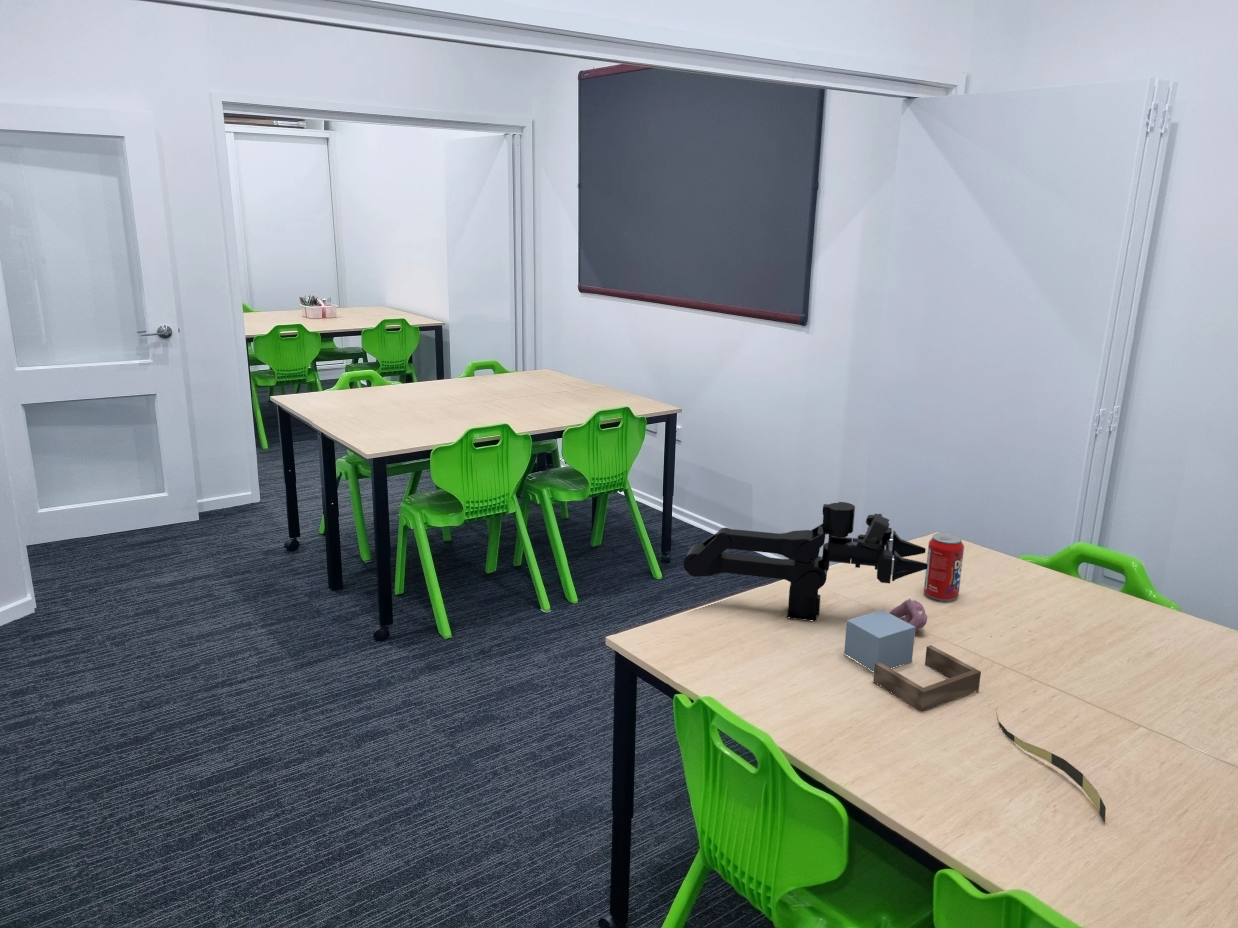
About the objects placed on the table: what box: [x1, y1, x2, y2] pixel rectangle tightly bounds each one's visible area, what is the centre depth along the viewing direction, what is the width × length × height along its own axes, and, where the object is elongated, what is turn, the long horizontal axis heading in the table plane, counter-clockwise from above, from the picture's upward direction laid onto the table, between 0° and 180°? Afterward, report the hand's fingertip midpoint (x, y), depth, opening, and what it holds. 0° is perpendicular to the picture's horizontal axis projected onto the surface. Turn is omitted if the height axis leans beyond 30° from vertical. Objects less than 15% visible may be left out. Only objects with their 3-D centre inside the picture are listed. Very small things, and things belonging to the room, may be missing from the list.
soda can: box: [923, 532, 965, 602], centre depth 209 cm, size 8×8×15 cm
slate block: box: [843, 609, 916, 672], centre depth 181 cm, size 9×10×8 cm
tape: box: [995, 707, 1107, 824], centre depth 151 cm, size 6×38×4 cm, turn 0°
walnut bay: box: [872, 645, 982, 712], centre depth 171 cm, size 12×15×4 cm
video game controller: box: [889, 598, 928, 633], centre depth 195 cm, size 10×5×7 cm, turn 179°
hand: (926, 558), depth 190 cm, fingers open, 9 cm apart
